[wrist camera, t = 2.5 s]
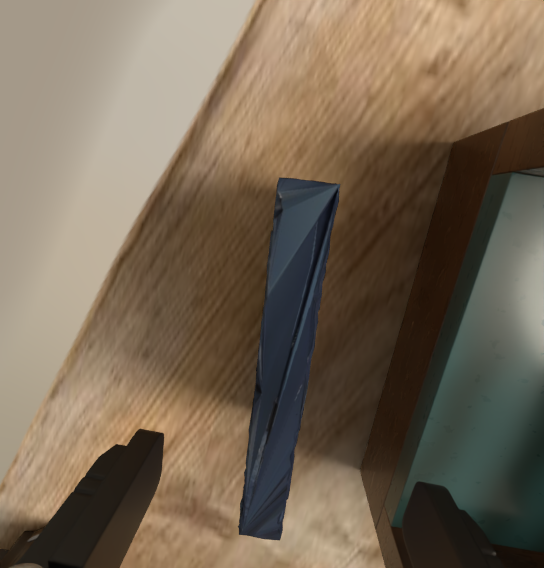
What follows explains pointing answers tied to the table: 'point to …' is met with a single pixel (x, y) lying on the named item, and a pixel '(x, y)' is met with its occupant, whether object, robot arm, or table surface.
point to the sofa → (472, 354)
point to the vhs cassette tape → (285, 348)
